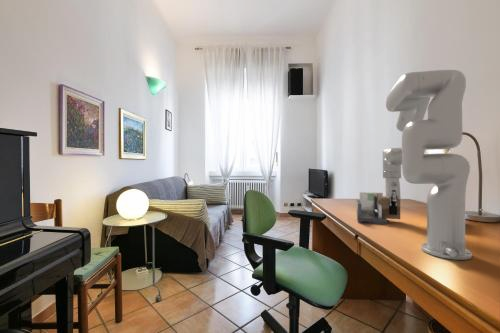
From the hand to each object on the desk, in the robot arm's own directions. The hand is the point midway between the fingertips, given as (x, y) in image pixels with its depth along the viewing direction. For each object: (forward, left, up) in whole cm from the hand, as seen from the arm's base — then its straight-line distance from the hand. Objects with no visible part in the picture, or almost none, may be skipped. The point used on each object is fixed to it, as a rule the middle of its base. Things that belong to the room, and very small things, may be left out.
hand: (392, 212), depth 117 cm
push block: (0, +1, -2) cm, 3 cm away
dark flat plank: (+3, +7, -3) cm, 8 cm away
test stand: (0, +9, -4) cm, 10 cm away
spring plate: (0, +6, -2) cm, 7 cm away
